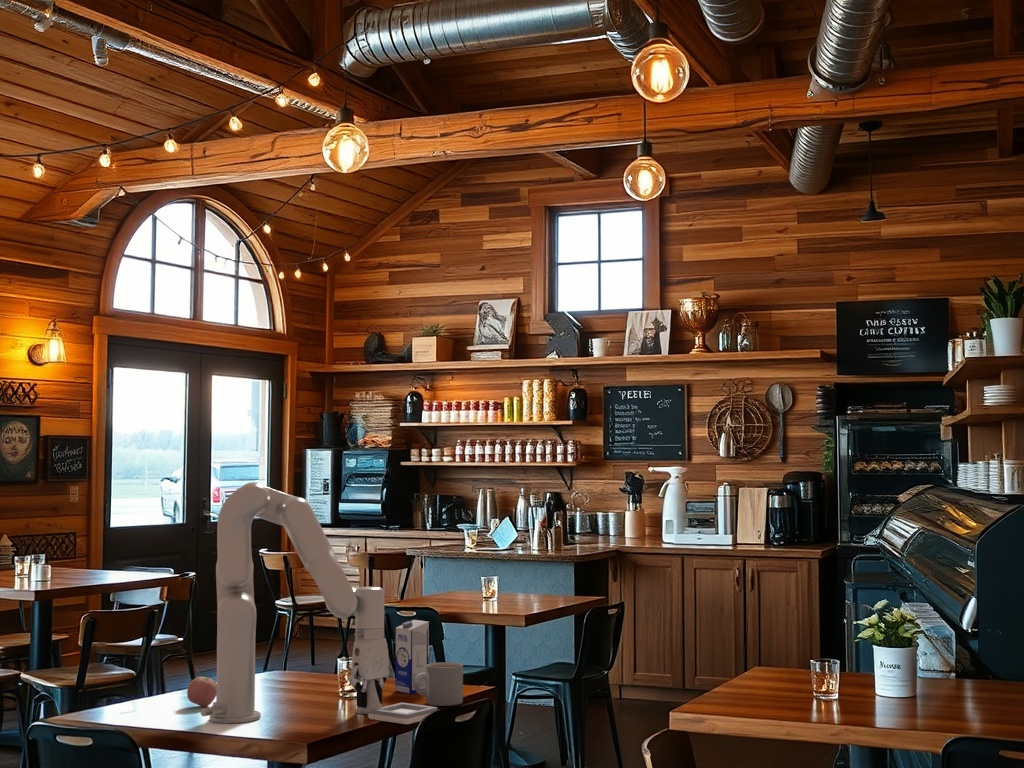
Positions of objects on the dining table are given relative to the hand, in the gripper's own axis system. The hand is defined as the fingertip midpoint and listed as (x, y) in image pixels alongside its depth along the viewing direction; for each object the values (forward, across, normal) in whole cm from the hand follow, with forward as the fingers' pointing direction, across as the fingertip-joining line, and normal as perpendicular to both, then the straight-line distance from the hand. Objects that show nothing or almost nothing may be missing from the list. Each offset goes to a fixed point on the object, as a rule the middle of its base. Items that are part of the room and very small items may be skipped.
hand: (369, 704), depth 312 cm
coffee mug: (+2, +21, -6) cm, 22 cm away
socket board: (+2, 0, -12) cm, 12 cm away
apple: (+2, -20, +42) cm, 47 cm away
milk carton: (+2, +30, +11) cm, 32 cm away
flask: (+2, 0, 0) cm, 2 cm away
